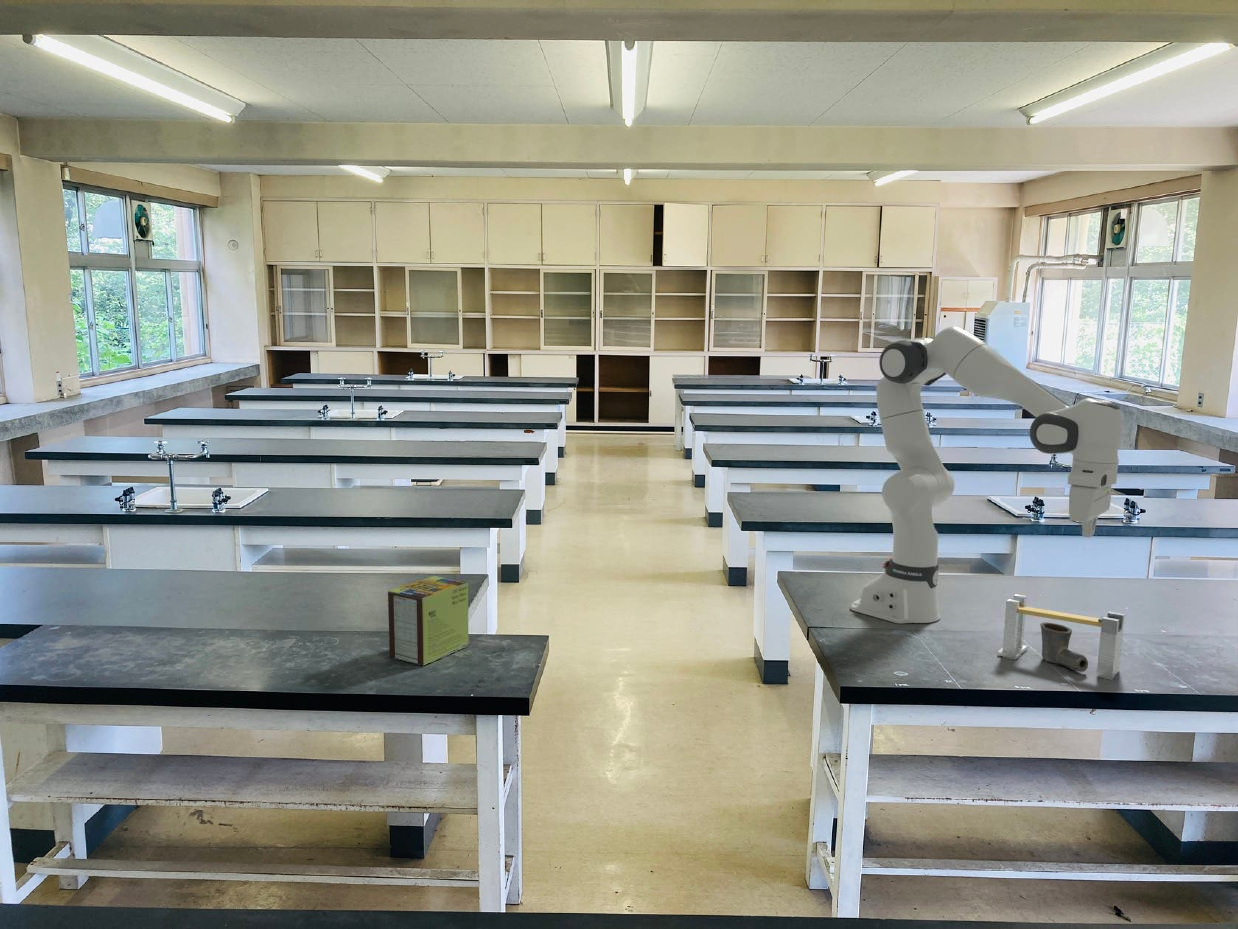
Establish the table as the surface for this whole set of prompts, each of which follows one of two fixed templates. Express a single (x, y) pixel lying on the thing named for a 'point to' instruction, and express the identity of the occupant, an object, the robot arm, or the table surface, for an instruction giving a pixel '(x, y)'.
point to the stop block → (1110, 645)
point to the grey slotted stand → (1013, 629)
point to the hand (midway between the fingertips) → (1087, 536)
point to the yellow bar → (1061, 616)
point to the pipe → (1060, 647)
